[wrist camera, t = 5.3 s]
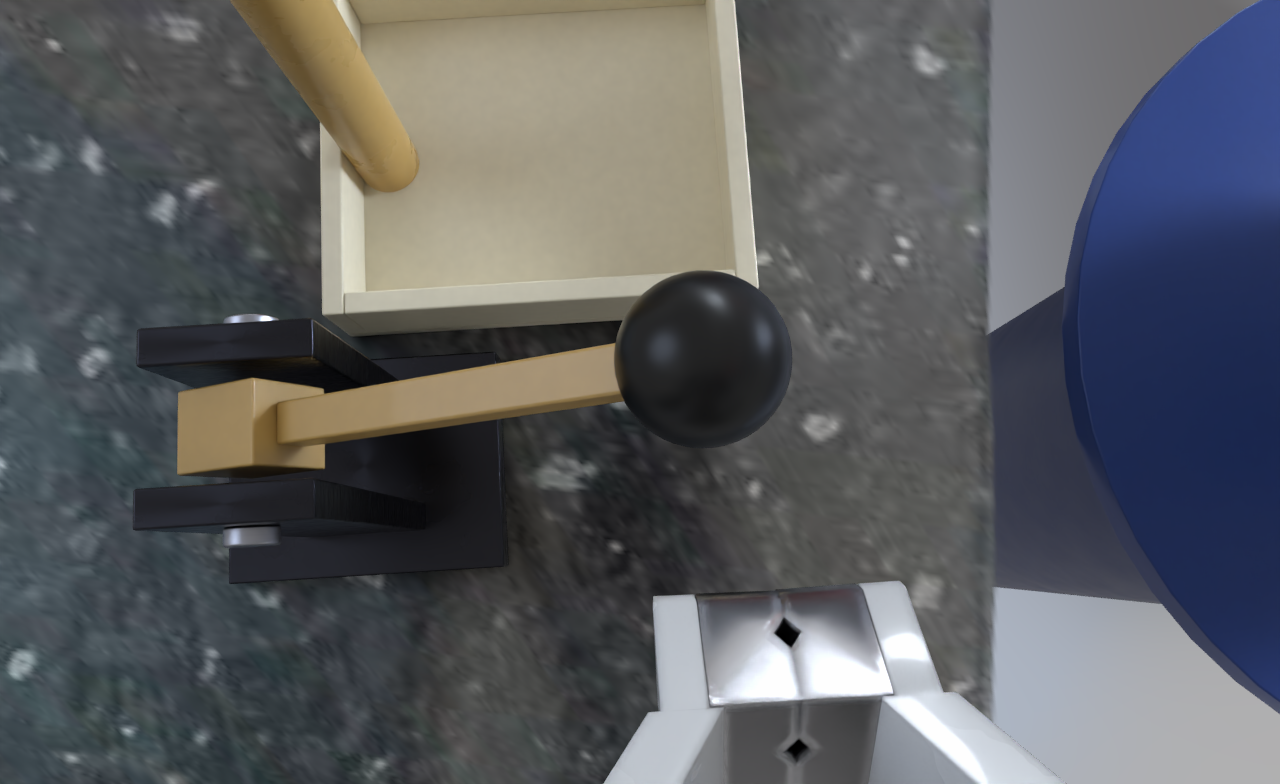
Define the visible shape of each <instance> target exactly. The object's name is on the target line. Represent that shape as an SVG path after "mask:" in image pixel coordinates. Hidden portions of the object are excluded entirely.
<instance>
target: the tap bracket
mask: <svg viewBox="0 0 1280 784" xmlns="http://www.w3.org/2000/svg"><path fill="white" fill-rule="evenodd" d="M498 363H500V358H499V357H498V355H497V354H496V353H495V352H483V353H467V354H450V355H434V356H418V357H401V358H385V359H369V358H367V357H366V356H364V355H363V354H361V353H360V352H359V351H357V350H356V349H354V348H353V347H352V346H350V345H349V344H347V343H346V342H345V341H343V340H342V339H340V338H339V337H337V336H336V335H335V334H333V333H332V332H330V331H329V330H328V329H326V328H325V327H323V326H322V325H321V324H319V323H318V322H316V321H315V320H314V319H311V318H305V319H288V320H279V319H277V318H275V317H272V316H268V315H262V314H237V315H232V316H228V317H226V318H225V319H224V323H222V324H206V325H190V326H173V327H157V328H141V329H138V330H137V359H136V364H137V367H139V368H142V369H145V370H148V371H150V372H153V373H156V374H159V375H161V376H164V377H167V378H169V379H172V380H175V381H178V382H180V383H183V384H186V385H189V386H191V387H194V388H201V387H206V386H211V385H216V384H222V383H227V382H232V381H237V380H242V379H247V378H260V379H266V380H273V381H279V382H286V383H292V384H299V385H305V386H312V387H319V388H323V389H324V394H326V393H332V392H338V391H343V390H349V389H355V388H361V387H366V386H372V385H378V384H384V383H389V382H395V381H401V380H406V379H412V378H418V377H424V376H429V375H435V374H441V373H447V372H452V371H458V370H464V369H470V368H475V367H481V366H487V365H493V364H498ZM133 530H136V531H161V532H186V533H211V534H223V547H225V548H229V583H230V584H238V583H254V582H269V581H285V580H301V579H317V578H332V577H348V576H364V575H379V574H395V573H411V572H427V571H442V570H458V569H474V568H490V567H504V566H508V541H507V517H506V492H505V468H504V443H503V419H496V420H489V421H482V422H475V423H468V424H461V425H454V426H447V427H440V428H433V429H426V430H419V431H412V432H405V433H398V434H391V435H384V436H377V437H370V438H363V439H356V440H349V441H342V442H335V443H328V444H325V468H324V469H323V470H316V471H308V472H300V473H292V474H284V475H276V476H269V477H261V478H253V479H248V478H230V483H224V484H208V485H192V486H176V487H160V488H144V489H135V490H134V493H133Z"/></svg>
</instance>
